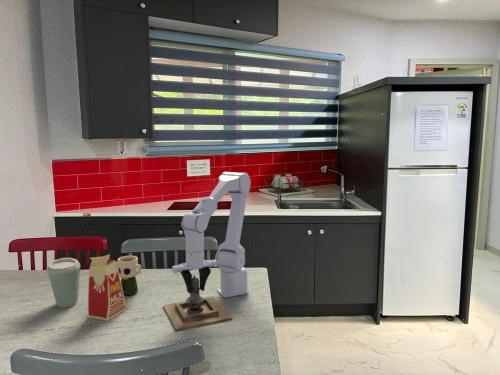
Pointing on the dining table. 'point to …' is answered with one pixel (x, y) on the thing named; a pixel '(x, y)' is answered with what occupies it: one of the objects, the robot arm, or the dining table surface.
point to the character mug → (128, 273)
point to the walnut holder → (186, 320)
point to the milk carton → (104, 289)
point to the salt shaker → (195, 298)
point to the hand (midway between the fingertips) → (195, 291)
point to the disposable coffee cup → (64, 280)
